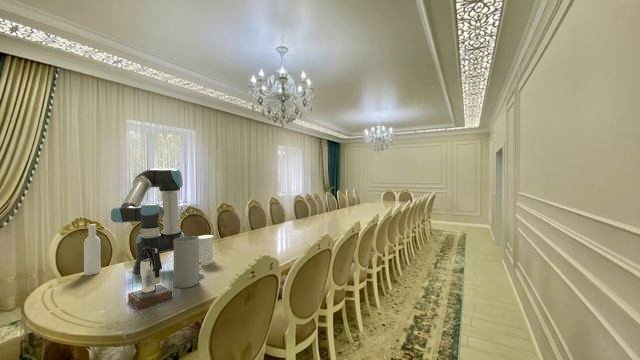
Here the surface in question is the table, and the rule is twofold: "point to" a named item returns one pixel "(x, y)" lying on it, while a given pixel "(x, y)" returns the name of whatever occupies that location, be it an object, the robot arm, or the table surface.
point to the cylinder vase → (186, 261)
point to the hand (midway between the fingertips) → (150, 280)
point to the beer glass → (147, 276)
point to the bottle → (92, 252)
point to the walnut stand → (149, 297)
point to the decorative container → (206, 249)
